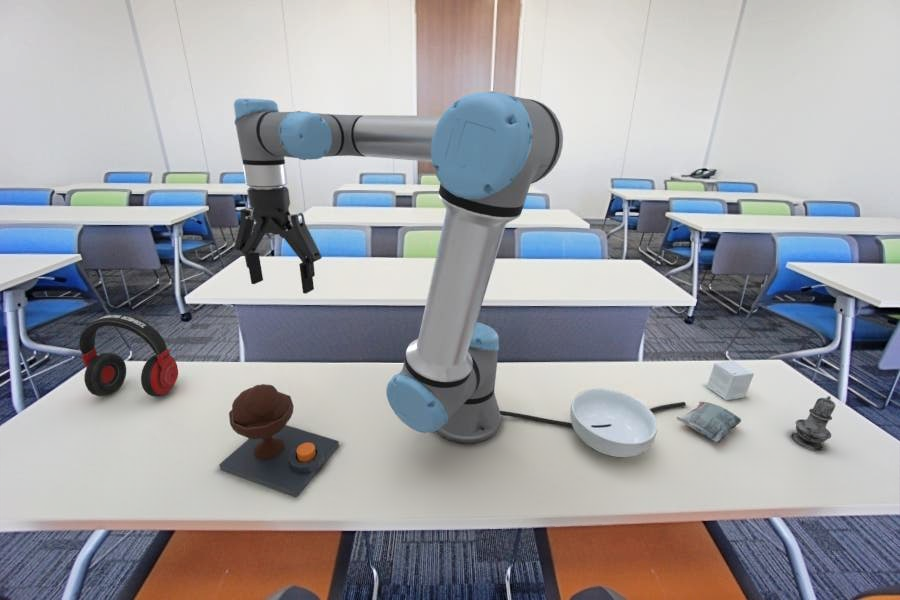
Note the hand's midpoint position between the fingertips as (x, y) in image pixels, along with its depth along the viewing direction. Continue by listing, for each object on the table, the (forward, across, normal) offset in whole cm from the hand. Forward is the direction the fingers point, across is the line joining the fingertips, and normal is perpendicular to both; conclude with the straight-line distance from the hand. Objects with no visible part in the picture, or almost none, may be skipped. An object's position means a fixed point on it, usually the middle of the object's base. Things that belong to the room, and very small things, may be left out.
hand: (282, 286), depth 87 cm
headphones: (+27, +33, +15) cm, 45 cm away
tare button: (+24, -18, +20) cm, 36 cm away
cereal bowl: (+27, -72, -9) cm, 77 cm away
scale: (+27, -12, +20) cm, 35 cm away
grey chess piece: (+27, -113, -24) cm, 119 cm away
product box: (+27, -101, -38) cm, 111 cm away
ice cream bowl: (+26, -9, +20) cm, 33 cm away
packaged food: (+27, -93, -21) cm, 99 cm away
